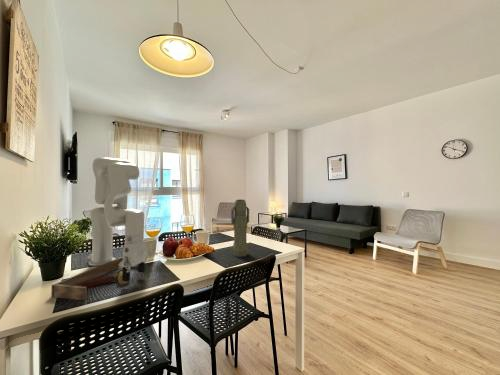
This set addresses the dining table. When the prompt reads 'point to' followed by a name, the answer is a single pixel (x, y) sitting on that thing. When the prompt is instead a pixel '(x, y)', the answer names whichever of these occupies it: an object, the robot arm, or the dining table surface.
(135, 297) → the dining table surface
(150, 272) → the dining table surface
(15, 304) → the dining table surface
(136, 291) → the dining table surface
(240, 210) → the tall olive-grey vase
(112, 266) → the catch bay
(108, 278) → the gavel
